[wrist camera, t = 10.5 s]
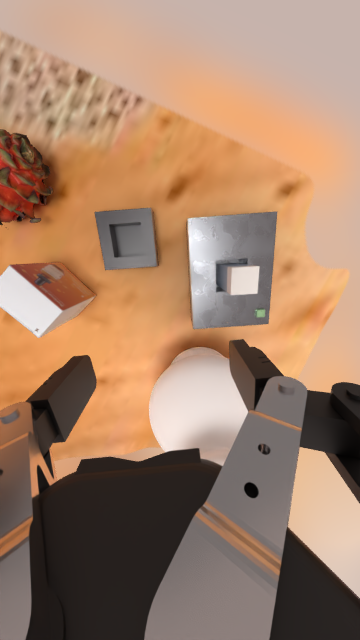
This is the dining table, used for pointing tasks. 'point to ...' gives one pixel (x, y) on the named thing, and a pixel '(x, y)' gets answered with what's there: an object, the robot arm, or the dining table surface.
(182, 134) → the dining table surface
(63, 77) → the dining table surface
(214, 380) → the decorative vase
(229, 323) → the port
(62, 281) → the small box
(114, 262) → the holster
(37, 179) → the dragon fruit
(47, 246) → the dining table surface
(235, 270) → the plug
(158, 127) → the dining table surface
